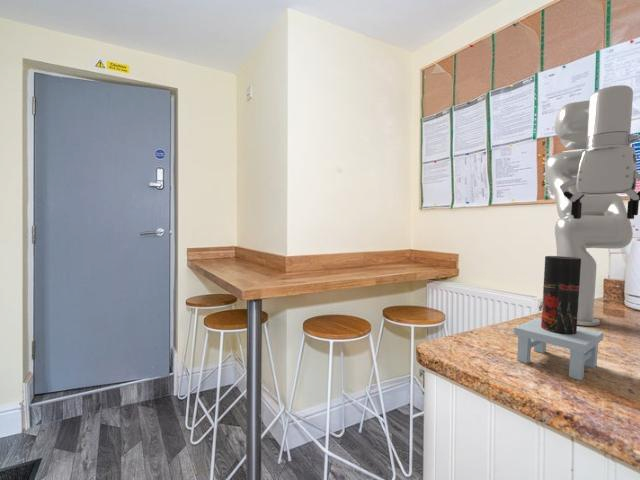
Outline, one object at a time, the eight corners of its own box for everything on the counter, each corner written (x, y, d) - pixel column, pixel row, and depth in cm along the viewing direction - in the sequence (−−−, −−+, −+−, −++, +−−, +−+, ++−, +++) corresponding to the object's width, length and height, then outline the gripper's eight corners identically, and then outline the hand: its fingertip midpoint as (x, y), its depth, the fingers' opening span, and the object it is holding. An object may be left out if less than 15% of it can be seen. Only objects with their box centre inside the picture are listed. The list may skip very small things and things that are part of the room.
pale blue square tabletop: (534, 347, 77) (536, 318, 76) (601, 365, 67) (603, 332, 67) (512, 360, 69) (514, 327, 69) (583, 382, 60) (586, 345, 60)
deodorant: (582, 335, 65) (587, 259, 64) (549, 333, 66) (553, 258, 65) (566, 326, 70) (571, 256, 69) (536, 324, 72) (539, 255, 71)
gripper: (663, 140, 71) (657, 219, 72) (567, 152, 85) (563, 218, 86) (658, 133, 67) (651, 218, 68) (557, 148, 80) (553, 218, 81)
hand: (602, 218), depth 77 cm, fingers open, 9 cm apart
